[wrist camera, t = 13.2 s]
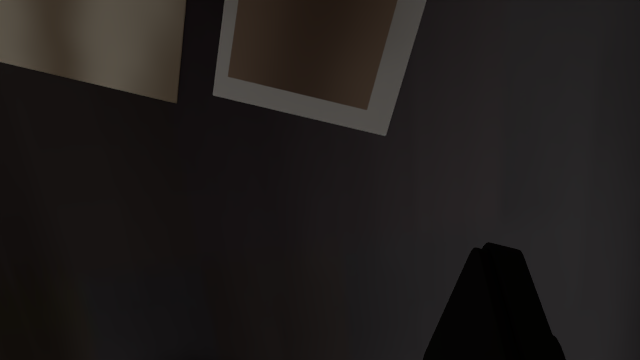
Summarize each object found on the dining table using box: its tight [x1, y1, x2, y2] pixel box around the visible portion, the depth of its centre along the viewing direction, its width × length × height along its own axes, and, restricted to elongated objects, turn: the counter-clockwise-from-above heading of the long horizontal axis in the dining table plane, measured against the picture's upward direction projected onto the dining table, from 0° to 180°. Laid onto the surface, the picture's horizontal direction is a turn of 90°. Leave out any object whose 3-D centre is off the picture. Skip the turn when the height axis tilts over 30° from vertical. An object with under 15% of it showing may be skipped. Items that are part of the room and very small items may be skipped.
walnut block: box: [228, 0, 398, 110], centre depth 25 cm, size 6×6×7 cm
